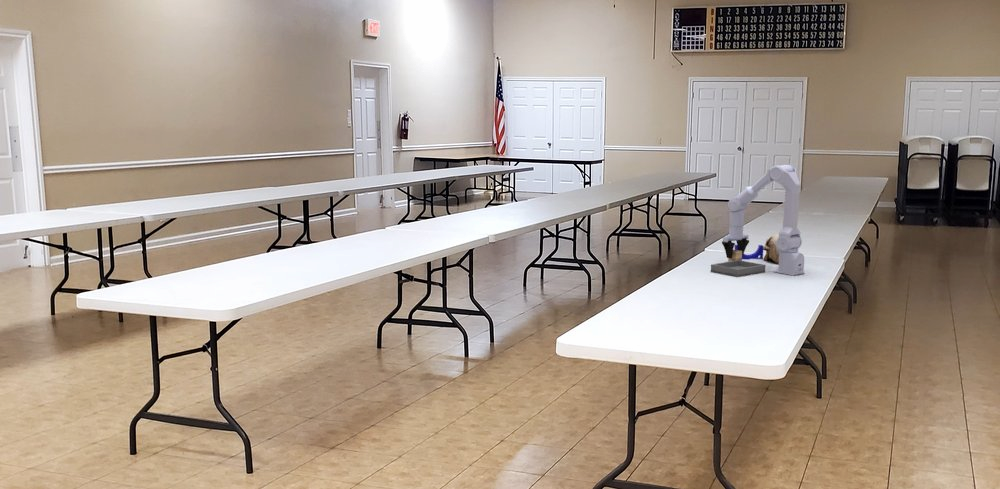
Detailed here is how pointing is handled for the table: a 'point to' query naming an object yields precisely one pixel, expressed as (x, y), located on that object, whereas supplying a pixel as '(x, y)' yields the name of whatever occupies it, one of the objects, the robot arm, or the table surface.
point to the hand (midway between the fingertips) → (734, 257)
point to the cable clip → (754, 255)
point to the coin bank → (772, 249)
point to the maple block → (736, 255)
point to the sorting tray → (738, 268)
